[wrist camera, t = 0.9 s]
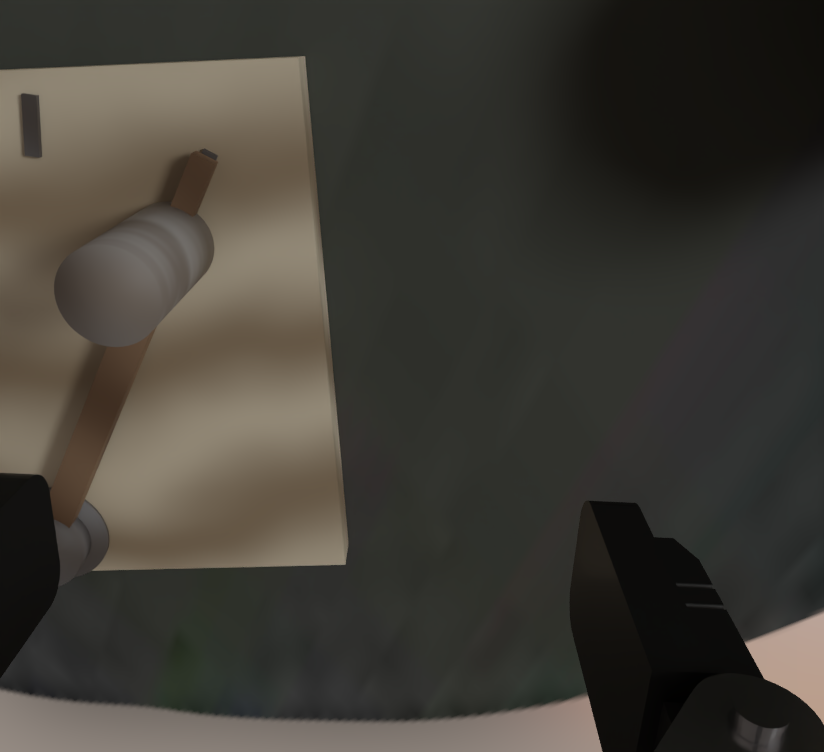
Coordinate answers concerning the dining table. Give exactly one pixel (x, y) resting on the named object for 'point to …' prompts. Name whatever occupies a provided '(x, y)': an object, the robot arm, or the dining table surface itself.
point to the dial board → (177, 312)
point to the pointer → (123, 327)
